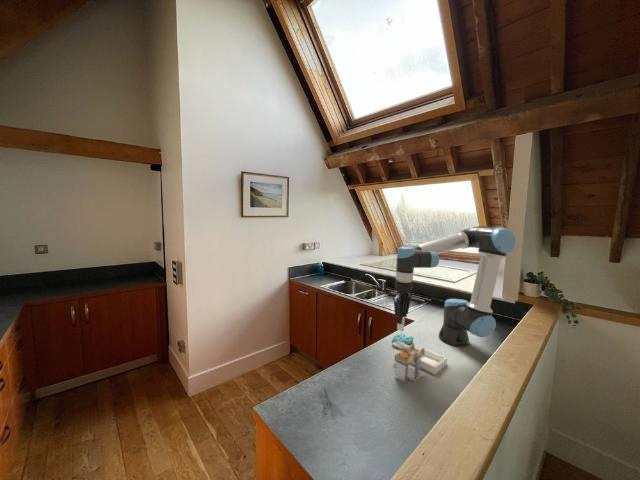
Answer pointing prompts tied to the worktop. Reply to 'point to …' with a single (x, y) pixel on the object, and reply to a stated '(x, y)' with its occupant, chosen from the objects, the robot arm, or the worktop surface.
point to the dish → (432, 362)
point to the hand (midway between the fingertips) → (400, 329)
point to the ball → (404, 355)
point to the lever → (411, 352)
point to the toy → (402, 339)
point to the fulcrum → (408, 372)
